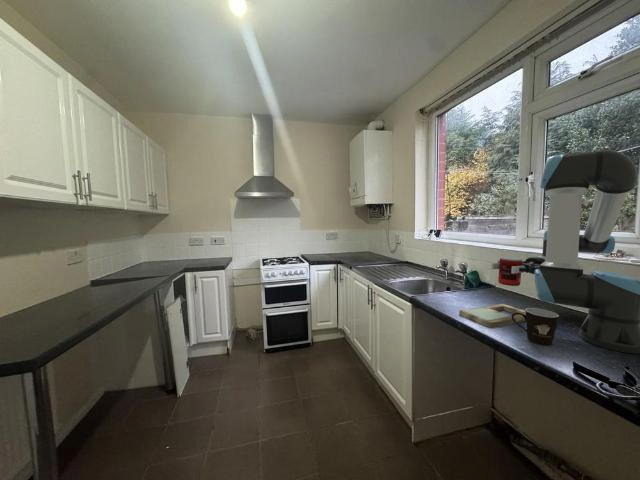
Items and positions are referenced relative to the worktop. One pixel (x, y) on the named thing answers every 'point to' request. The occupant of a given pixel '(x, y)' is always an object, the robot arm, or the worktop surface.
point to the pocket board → (493, 315)
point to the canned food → (509, 271)
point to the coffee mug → (539, 325)
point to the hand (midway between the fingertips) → (502, 268)
